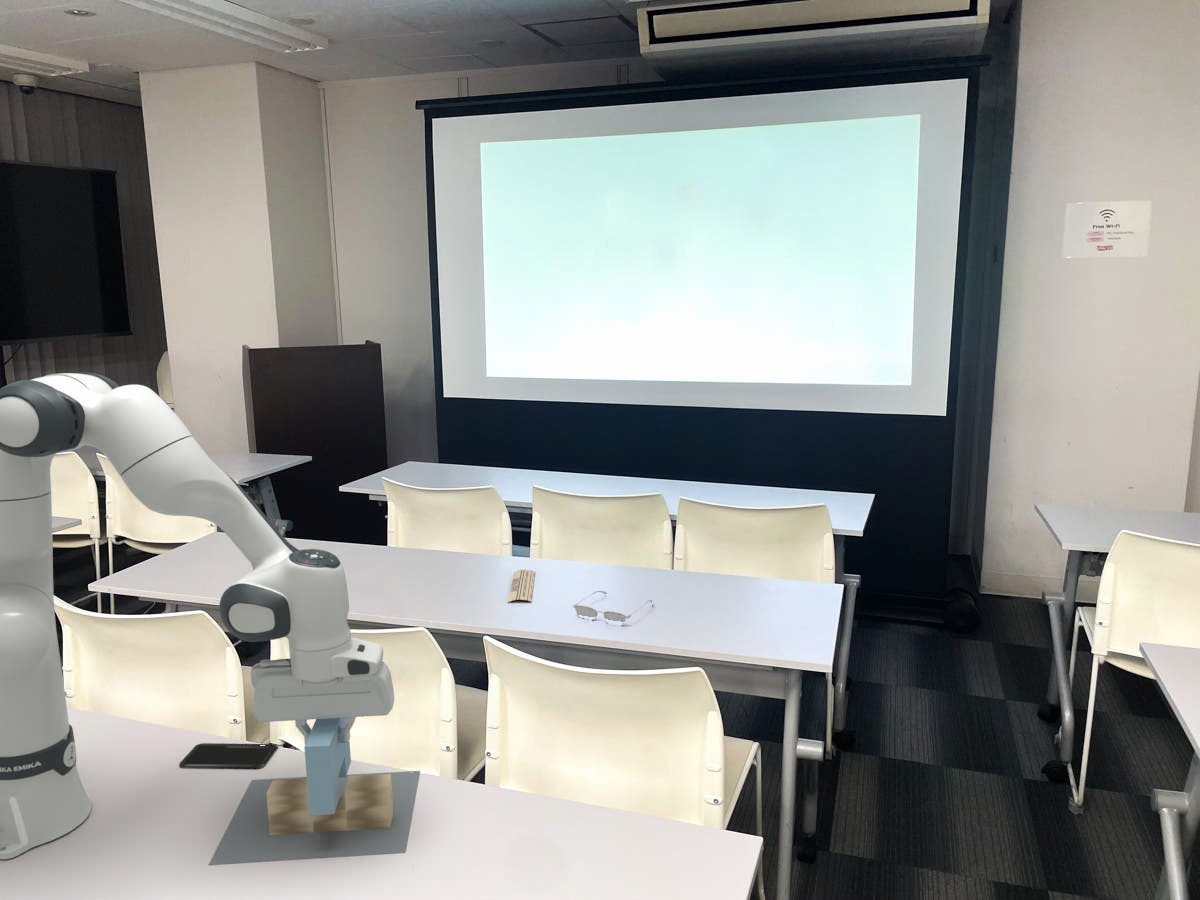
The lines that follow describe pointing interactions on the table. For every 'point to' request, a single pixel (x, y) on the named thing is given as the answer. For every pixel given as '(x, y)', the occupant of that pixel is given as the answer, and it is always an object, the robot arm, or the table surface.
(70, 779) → the robot arm
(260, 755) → the phone
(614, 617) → the eyeglasses
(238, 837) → the mat
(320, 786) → the blue plate
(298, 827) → the beech rail
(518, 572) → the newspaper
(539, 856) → the table surface
